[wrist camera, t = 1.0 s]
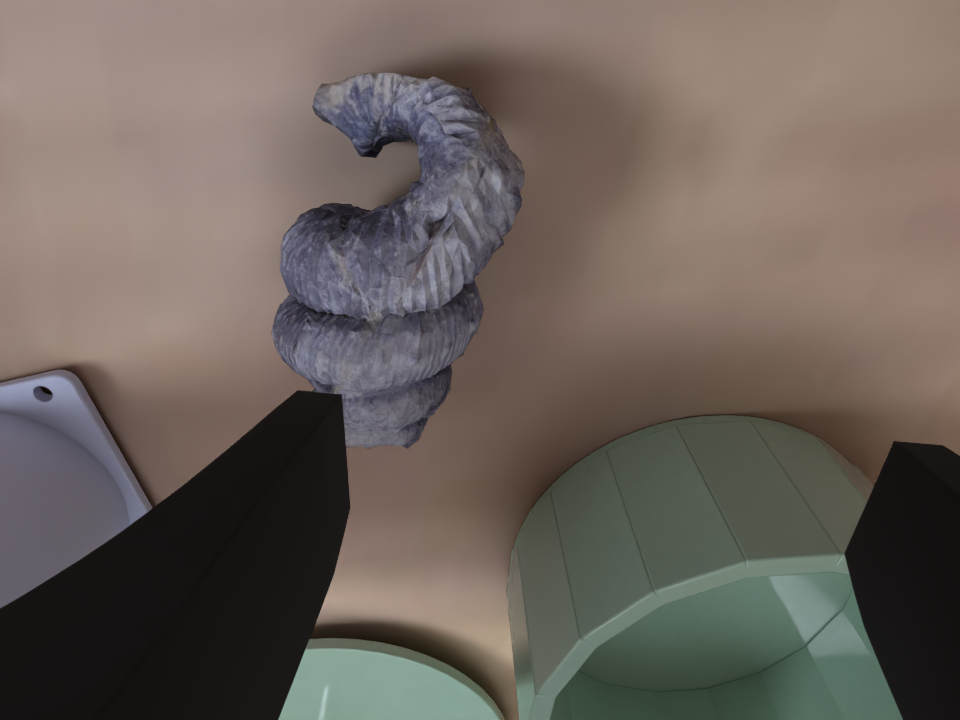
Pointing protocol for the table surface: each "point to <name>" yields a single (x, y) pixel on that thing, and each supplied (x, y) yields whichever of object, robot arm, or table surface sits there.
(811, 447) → the crock
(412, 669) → the lid
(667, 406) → the table surface
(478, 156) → the seashell
